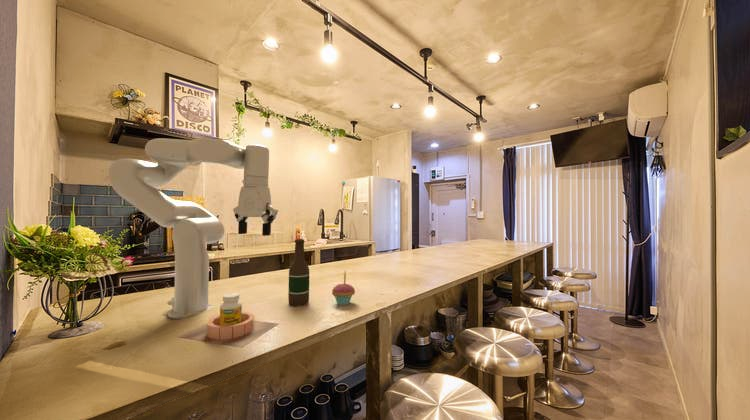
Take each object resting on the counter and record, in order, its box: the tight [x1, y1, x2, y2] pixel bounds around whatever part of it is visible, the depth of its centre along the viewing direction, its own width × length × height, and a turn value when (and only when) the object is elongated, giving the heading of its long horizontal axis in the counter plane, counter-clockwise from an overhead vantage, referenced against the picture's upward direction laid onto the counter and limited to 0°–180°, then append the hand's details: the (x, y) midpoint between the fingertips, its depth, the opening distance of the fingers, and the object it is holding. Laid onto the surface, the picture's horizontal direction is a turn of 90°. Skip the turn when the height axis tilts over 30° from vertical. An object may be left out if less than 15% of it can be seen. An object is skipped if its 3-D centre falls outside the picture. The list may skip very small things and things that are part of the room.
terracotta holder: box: [206, 311, 255, 340], centre depth 77 cm, size 11×11×3 cm
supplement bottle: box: [219, 292, 243, 326], centre depth 77 cm, size 5×5×10 cm
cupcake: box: [331, 269, 356, 306], centre depth 105 cm, size 9×8×12 cm
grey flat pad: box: [178, 320, 279, 349], centre depth 77 cm, size 20×15×1 cm
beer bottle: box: [287, 238, 310, 307], centre depth 104 cm, size 8×8×24 cm
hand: (254, 234), depth 92 cm, fingers open, 9 cm apart
